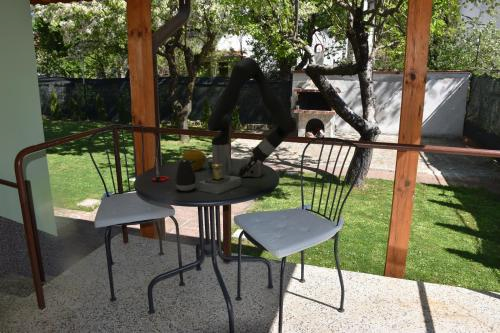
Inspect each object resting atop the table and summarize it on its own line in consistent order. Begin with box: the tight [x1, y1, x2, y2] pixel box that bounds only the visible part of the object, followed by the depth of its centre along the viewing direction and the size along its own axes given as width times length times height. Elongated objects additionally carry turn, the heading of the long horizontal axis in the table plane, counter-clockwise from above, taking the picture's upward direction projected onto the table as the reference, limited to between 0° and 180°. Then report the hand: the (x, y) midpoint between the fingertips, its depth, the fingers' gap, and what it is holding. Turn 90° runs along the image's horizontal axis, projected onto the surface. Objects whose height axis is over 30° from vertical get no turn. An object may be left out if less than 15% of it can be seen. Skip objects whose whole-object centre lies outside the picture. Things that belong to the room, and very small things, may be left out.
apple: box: [182, 149, 207, 172], centre depth 237 cm, size 13×13×11 cm
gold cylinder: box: [211, 163, 222, 181], centre depth 197 cm, size 5×5×12 cm
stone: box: [238, 156, 265, 178], centre depth 221 cm, size 13×12×10 cm
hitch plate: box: [197, 174, 242, 195], centre depth 200 cm, size 18×12×5 cm, turn 144°
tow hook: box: [151, 156, 170, 183], centre depth 216 cm, size 8×13×9 cm
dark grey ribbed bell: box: [174, 158, 197, 192], centre depth 196 cm, size 10×10×15 cm
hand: (240, 173), depth 195 cm, fingers open, 8 cm apart
